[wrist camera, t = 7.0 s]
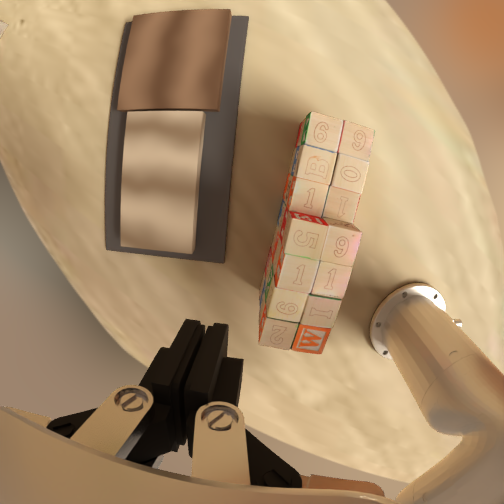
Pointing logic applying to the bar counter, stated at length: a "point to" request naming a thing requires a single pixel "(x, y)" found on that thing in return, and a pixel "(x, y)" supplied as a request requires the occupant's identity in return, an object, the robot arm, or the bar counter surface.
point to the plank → (161, 179)
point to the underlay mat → (212, 164)
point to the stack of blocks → (314, 235)
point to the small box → (2, 27)
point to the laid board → (175, 61)
